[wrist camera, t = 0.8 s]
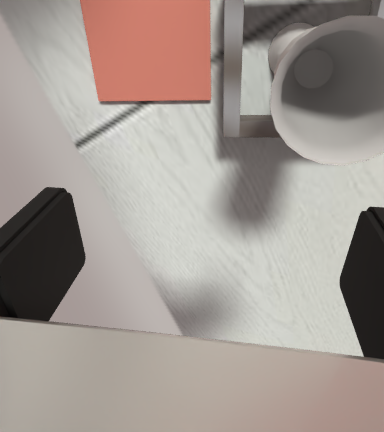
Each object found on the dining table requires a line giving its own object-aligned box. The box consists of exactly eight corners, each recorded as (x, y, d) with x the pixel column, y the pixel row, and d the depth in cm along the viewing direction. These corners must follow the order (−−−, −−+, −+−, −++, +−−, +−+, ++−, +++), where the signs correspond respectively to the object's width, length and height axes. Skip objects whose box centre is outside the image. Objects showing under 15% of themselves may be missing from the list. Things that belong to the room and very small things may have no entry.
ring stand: (227, -29, 28) (224, -34, 24) (389, -39, 26) (414, -46, 23) (225, 122, 35) (223, 137, 31) (353, 122, 33) (368, 137, 30)
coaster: (74, -40, 29) (72, -41, 29) (209, -50, 28) (209, -50, 27) (100, 100, 36) (98, 101, 35) (211, 98, 34) (210, 100, 34)
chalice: (353, 35, 29) (467, 66, 14) (306, 104, 33) (360, 187, 18) (282, -6, 29) (327, -20, 13) (243, 70, 32) (243, 126, 17)
